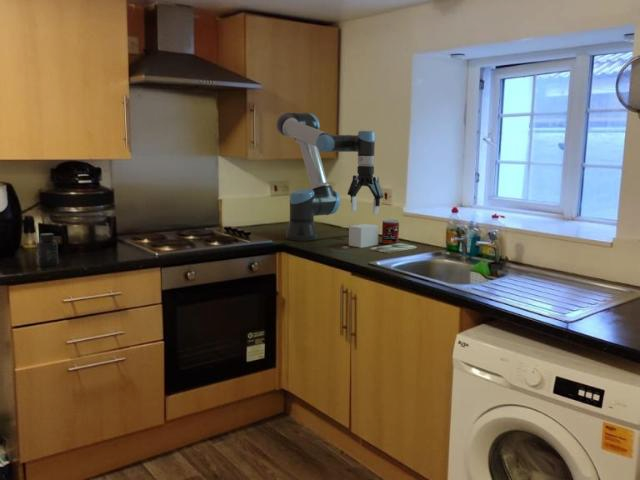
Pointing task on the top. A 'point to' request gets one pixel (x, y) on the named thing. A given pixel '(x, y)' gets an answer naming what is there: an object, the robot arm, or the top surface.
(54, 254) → the supplement bottle
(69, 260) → the top surface
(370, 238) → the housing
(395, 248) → the board
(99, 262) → the top surface
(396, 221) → the canned food
